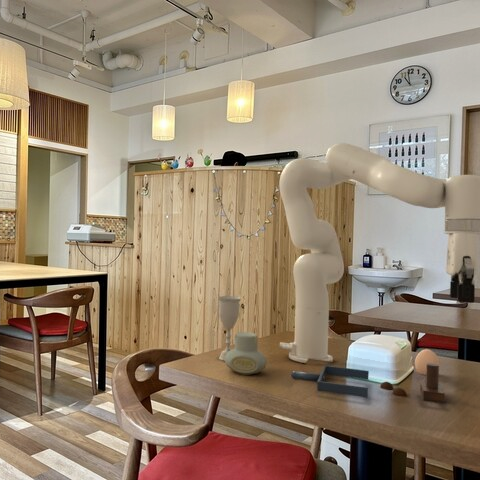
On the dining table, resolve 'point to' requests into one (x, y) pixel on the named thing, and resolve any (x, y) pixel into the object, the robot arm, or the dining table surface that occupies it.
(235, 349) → the air freshener
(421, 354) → the egg
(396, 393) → the crumb
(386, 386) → the crumb
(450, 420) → the dining table surface
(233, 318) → the chalice
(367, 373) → the dustpan
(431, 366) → the wooden stamp
